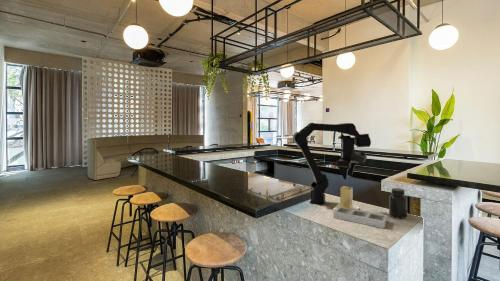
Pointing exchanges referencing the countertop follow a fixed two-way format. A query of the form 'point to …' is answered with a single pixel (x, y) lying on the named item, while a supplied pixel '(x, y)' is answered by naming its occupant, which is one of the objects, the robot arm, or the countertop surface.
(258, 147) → the countertop surface
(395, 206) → the supplement bottle
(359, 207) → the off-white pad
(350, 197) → the brass peg
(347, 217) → the grey slotted tray
